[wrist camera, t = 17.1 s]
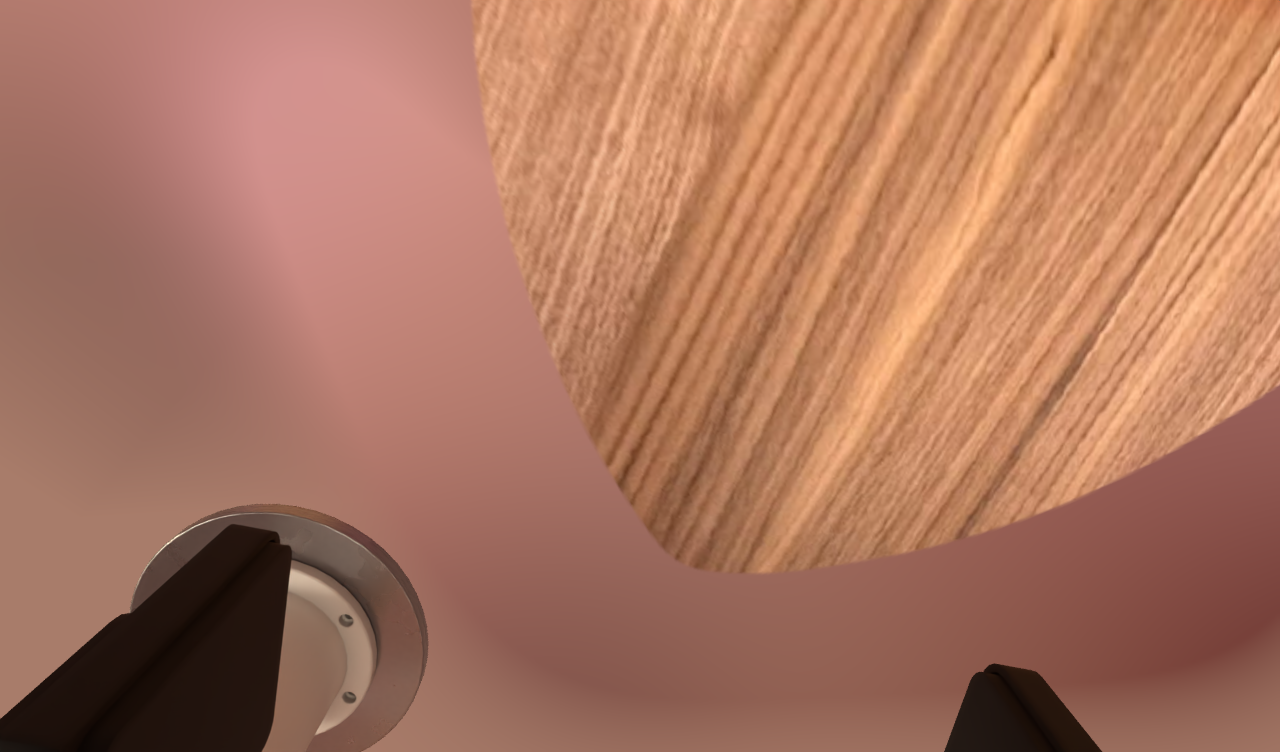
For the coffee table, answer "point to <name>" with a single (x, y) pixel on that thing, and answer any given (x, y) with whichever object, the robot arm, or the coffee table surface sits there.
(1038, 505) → the coffee table surface
